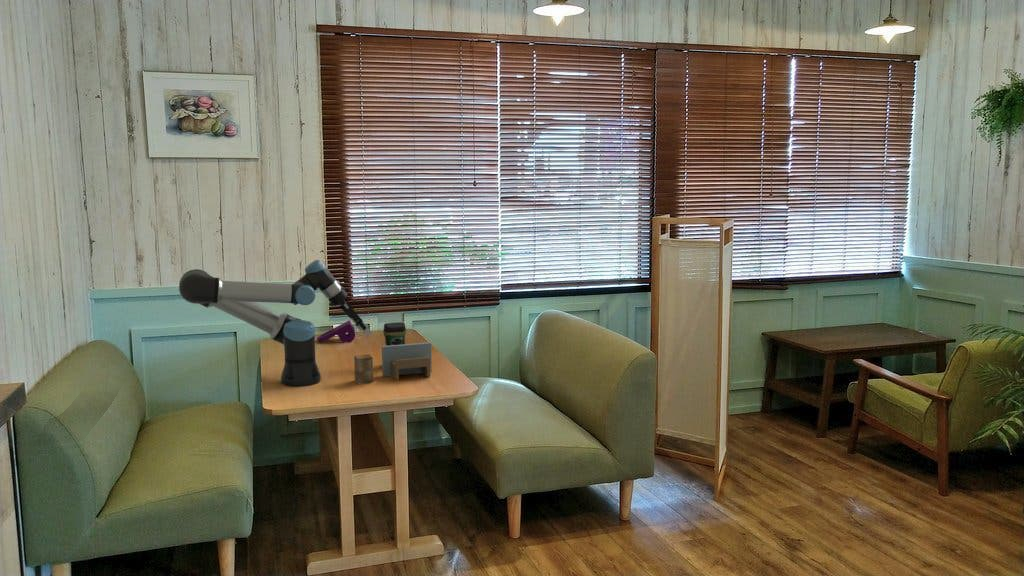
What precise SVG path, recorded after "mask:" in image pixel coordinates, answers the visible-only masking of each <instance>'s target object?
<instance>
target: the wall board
mask: <svg viewBox="0 0 1024 576" xmlns="http://www.w3.org/2000/svg"><path fill="white" fill-rule="evenodd" d="M381 360H382V361H381V364H382V376H383V377H390V376H391V378H393V379H394V380H395V381H400V376H401V375H400V374H402V375H412V374H411V373H413V374H423V375H424V376H425V377H426V378H431V372H433V371H432V343H431V342H430V341H429V342H427V341H426V342H417V343H405V344H403V345H390V346H385V345H383V346H381Z"/></svg>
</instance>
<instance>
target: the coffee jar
mask: <svg viewBox="0 0 1024 576" xmlns="http://www.w3.org/2000/svg"><path fill="white" fill-rule="evenodd" d="M406 335H407V327H406V324H405V323H404V322H403V321H400V322H399V321H398V322H396V321H395V322H387V323H384V325H383V336H384V339H385V340H384V342H385V343H384V346H390V345H403V344H406V340H405V339H406Z"/></svg>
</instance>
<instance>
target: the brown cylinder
mask: <svg viewBox="0 0 1024 576" xmlns="http://www.w3.org/2000/svg"><path fill="white" fill-rule="evenodd" d="M353 357H354V358H353V359H354V360H353V362H354V381H355V382H356V384H357V383H358V384H357V385H360V384H359V383H363V384H371V383H370V382H373V383H374V369H373V368H374V366H373V364H374V363H373V362H374V361H373V359H374V358H373V357H372V356H371V355H370V354H361V355H360V354H358V355H357V354H356V355H354V356H353Z"/></svg>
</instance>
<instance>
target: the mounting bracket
mask: <svg viewBox="0 0 1024 576" xmlns="http://www.w3.org/2000/svg"><path fill="white" fill-rule="evenodd" d="M335 336H337V337H338V338H339V340H340V341H341V342H342V343H344V342H347V343H351V342H353V341H354V340H355V338H356V330H355V328H354V325H353V322H352V320H351V319H350V320H349V319H348V320H347V321H345V322H343V323H341V324H340V325H338V326H335V327H334V328H331V329H330V330H328V331H325V332H323V333H322V334H320V335H319V336H317V337H316V340H317V342H318V343H319V342H320V343H323V342H325V341H328V340H330V339H331V338H333V337H335Z"/></svg>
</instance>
